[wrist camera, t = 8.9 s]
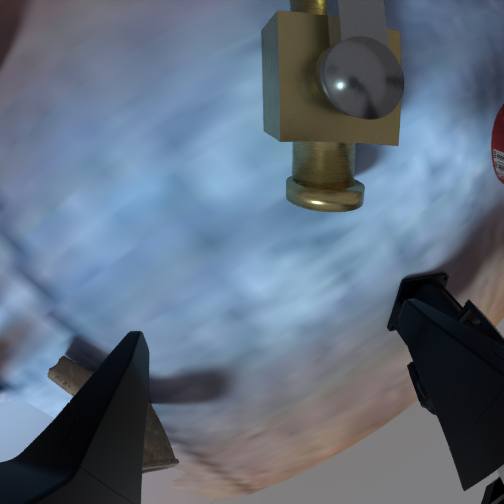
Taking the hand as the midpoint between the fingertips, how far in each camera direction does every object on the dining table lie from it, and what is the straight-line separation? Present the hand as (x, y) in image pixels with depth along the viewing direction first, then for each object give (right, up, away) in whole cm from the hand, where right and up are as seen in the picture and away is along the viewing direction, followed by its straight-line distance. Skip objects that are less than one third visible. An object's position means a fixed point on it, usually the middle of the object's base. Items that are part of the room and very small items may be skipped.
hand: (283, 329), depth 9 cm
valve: (+3, +14, +8) cm, 16 cm away
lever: (+4, +15, +1) cm, 15 cm away
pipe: (-16, -13, +20) cm, 29 cm away
